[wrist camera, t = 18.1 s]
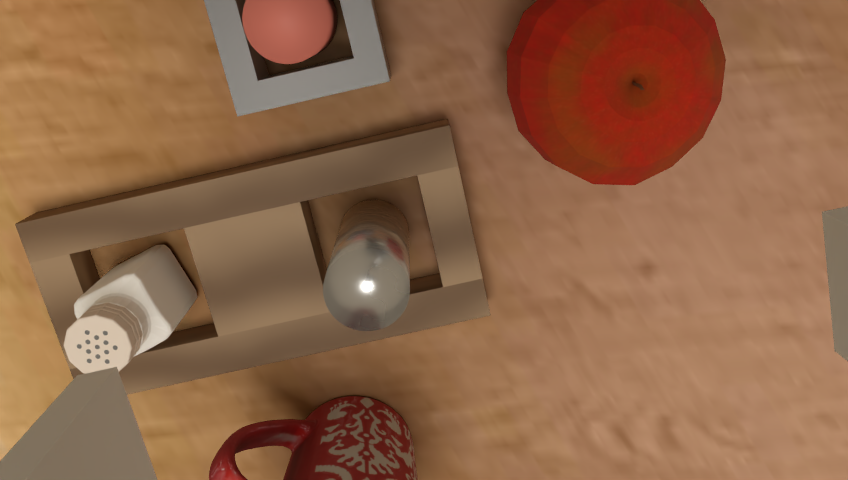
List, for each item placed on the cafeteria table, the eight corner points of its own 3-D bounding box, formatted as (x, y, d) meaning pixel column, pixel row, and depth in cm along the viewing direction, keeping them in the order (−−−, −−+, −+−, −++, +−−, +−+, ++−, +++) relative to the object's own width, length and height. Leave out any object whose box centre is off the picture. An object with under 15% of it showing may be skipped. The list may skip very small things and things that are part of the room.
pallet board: (35, 213, 46) (15, 224, 44) (447, 119, 45) (449, 125, 43) (98, 384, 49) (82, 404, 47) (486, 300, 48) (490, 315, 46)
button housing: (207, -41, 43) (190, -46, 39) (355, -77, 42) (351, -84, 39) (250, 108, 45) (237, 116, 42) (391, 75, 45) (389, 81, 41)
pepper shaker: (108, 268, 47) (37, 330, 38) (167, 237, 47) (109, 293, 38) (146, 325, 48) (85, 399, 39) (204, 295, 48) (156, 363, 39)
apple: (624, 186, 47) (693, 242, 36) (464, 117, 45) (483, 153, 34) (709, 18, 44) (811, 22, 33) (542, -60, 43) (590, -84, 32)
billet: (332, 207, 47) (313, 259, 37) (400, 192, 46) (399, 240, 37) (349, 272, 48) (335, 339, 38) (415, 257, 48) (418, 321, 38)
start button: (251, -12, 42) (231, -14, 37) (326, -29, 42) (316, -34, 37) (272, 65, 43) (255, 72, 39) (345, 48, 43) (337, 53, 38)
